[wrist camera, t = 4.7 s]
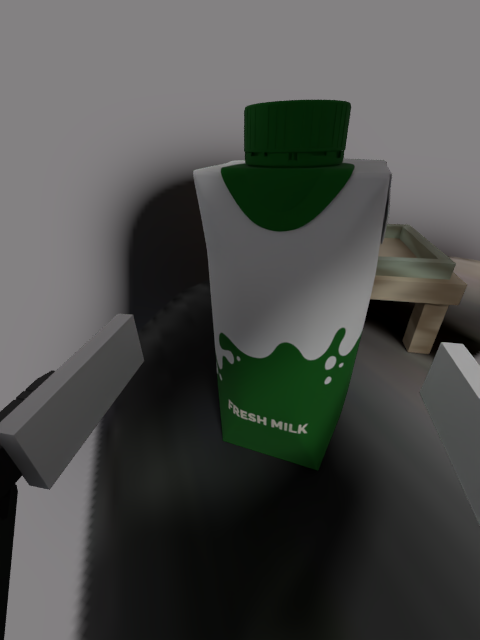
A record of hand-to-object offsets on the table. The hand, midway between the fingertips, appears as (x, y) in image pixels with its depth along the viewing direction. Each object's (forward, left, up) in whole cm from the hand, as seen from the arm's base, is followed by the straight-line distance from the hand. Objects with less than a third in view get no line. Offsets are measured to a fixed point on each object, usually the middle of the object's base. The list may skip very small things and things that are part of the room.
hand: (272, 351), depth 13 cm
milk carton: (-2, -5, -11) cm, 12 cm away
